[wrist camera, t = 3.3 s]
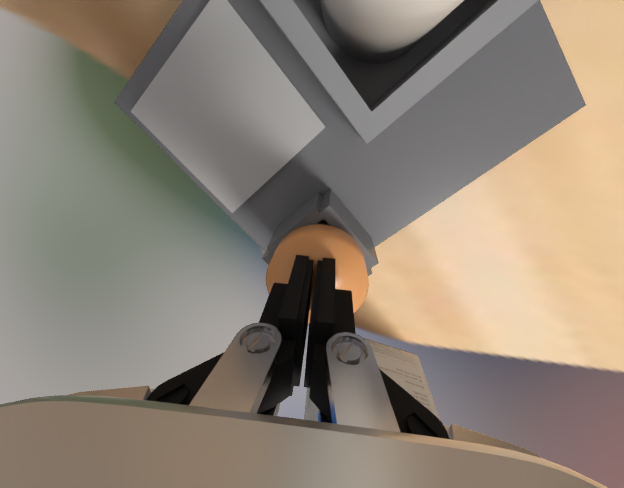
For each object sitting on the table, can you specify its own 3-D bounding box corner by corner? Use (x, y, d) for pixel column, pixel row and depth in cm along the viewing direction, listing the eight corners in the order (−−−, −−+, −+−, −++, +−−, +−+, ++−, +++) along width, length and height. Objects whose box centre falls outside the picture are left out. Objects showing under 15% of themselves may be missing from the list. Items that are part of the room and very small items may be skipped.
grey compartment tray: (390, -258, 9) (438, -594, 5) (561, 105, 14) (671, 102, 9) (134, 103, 15) (49, 99, 11) (308, 280, 19) (299, 330, 15)
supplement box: (305, 383, 24) (276, 620, 13) (335, 325, 21) (333, 572, 10) (381, 407, 25) (417, 654, 14) (422, 354, 22) (514, 620, 10)
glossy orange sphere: (326, 187, 14) (322, 216, 10) (375, 246, 16) (389, 292, 11) (268, 235, 16) (245, 277, 12) (317, 285, 17) (311, 338, 13)
